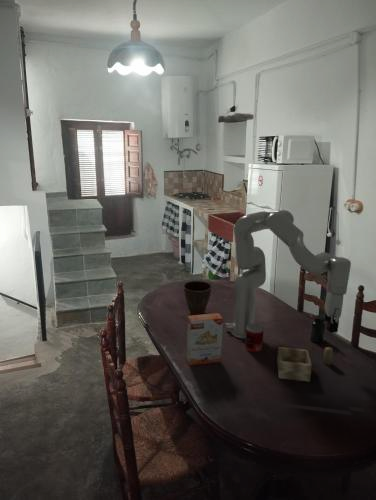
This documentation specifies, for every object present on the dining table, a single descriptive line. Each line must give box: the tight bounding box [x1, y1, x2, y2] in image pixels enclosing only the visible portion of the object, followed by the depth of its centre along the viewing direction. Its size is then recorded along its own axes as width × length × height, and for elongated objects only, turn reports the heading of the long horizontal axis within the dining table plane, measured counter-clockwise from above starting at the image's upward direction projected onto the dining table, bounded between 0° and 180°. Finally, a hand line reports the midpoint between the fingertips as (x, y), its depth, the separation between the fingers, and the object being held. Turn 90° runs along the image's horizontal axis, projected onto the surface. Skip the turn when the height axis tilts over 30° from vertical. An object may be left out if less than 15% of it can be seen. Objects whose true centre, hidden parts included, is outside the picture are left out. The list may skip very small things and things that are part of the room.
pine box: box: [276, 346, 313, 382], centre depth 157 cm, size 12×12×8 cm
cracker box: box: [186, 312, 224, 367], centre depth 163 cm, size 14×6×21 cm, turn 104°
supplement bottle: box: [309, 314, 327, 344], centre depth 183 cm, size 7×7×12 cm
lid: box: [322, 346, 334, 366], centre depth 163 cm, size 13×13×8 cm
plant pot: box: [183, 280, 213, 315], centre depth 210 cm, size 15×15×16 cm
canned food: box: [244, 323, 264, 353], centre depth 174 cm, size 8×8×11 cm
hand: (330, 326), depth 159 cm, fingers open, 9 cm apart
